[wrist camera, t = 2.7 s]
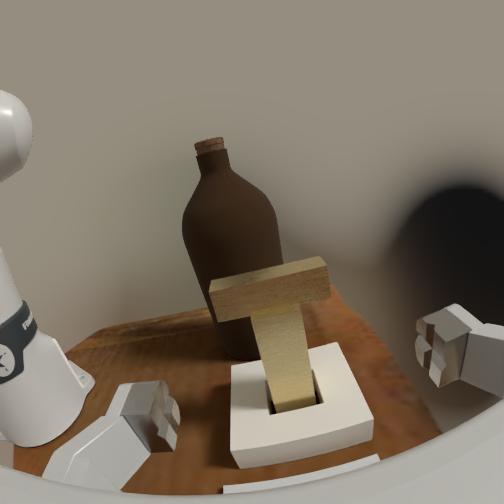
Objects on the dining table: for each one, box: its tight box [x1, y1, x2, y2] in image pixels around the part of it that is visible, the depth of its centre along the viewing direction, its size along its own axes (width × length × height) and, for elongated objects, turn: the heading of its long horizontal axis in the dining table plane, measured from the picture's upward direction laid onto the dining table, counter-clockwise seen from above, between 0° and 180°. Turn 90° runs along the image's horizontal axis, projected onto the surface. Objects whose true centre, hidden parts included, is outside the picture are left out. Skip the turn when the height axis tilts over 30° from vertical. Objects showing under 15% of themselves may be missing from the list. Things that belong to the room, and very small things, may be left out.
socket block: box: [230, 342, 374, 469], centre depth 25 cm, size 11×11×3 cm
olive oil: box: [182, 137, 283, 360], centre depth 35 cm, size 11×11×25 cm
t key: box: [209, 256, 331, 414], centre depth 23 cm, size 8×3×14 cm, turn 93°
